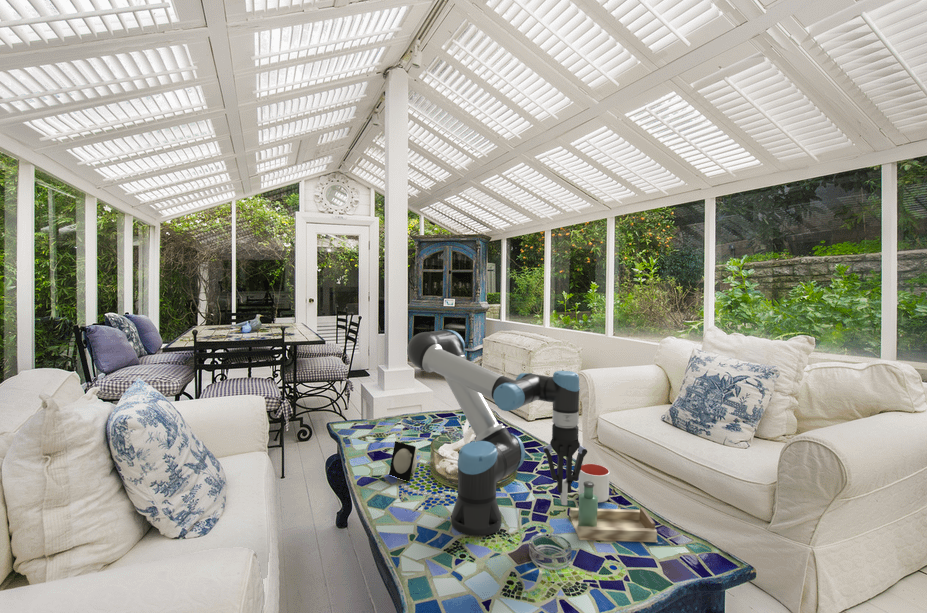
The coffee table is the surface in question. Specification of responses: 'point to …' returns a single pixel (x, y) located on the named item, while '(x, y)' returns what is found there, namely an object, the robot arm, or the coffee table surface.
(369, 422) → the coffee table surface
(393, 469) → the decorative object
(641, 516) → the wooden tray
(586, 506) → the bottle
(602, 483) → the cup
